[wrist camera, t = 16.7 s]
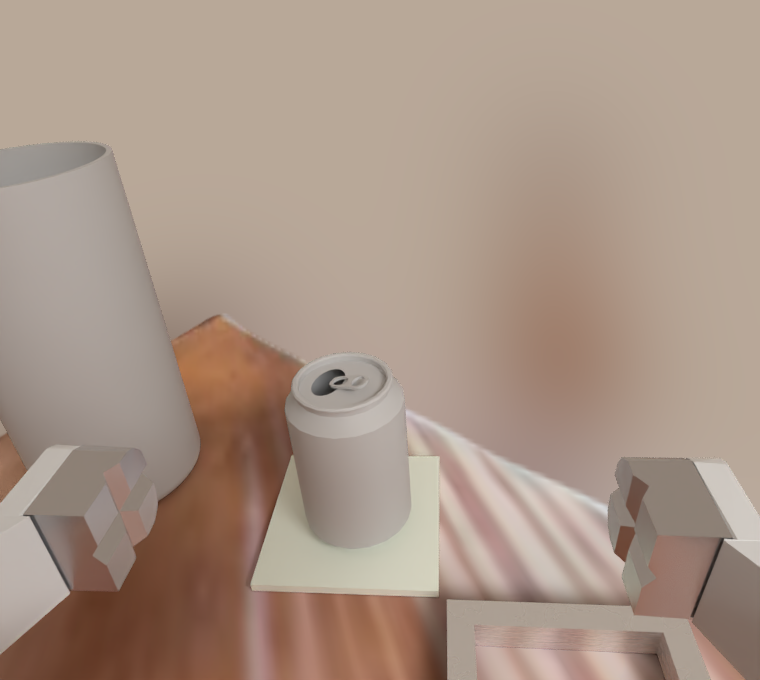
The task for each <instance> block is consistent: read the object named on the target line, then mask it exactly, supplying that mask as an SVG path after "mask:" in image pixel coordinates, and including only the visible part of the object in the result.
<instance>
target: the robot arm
mask: <svg viewBox="0 0 760 680" xmlns="http://www.w3.org/2000/svg"><path fill="white" fill-rule="evenodd" d="M146 465H147V463H146V461H145V458H144V456H143V453H142V451H141V450H139V449H136V448H130V447H108V446H86V445H82V446H71V445H54V446H52V447H49V448H47V449H46V450H45V451H44V452H43V453H42V455H41V456H40V457H39V458H38V459H37V460H36V462H35V463H34V464H33V465H32V466H31V468H30V469H29V470H28V471H27V472H26V474H25V475H24V476H23V477H22V478H21V479H20V481H19V482H18V483H17V484H16V485H15V487H14V488H13V489H12V490H11V491H10V492H9V494H8V495H7V496H6V497H5V498H4V500H3V501H2V502H1V503H0V654H1V653H3V652H4V651H5V650H6V649H7V648H8V647H9V646H11V645H12V644H13V643H14V642H15V641H16V640H17V639H19V638H20V637H21V636H22V635H23V634H24V633H26V632H27V631H28V630H29V629H30V628H31V627H32V626H34V625H35V624H36V623H37V622H38V621H39V620H40V619H42V618H43V617H44V616H45V615H46V614H47V613H48V612H50V611H51V610H52V609H53V608H54V607H55V606H56V605H58V604H59V603H60V602H61V601H62V600H63V599H65V598H66V597H67V596H68V595H69V594H70V591H119V590H120V588H121V586H122V584H123V582H124V580H125V578H126V576H127V574H128V573H129V571H130V569H131V567H132V565H133V563H134V561H135V559H136V554H135V550H134V546H135V545H136V544H137V543H139V542H140V541H142V540H143V539H144V538H146V537H147V536H148V534H149V532H150V530H151V528H152V526H153V524H154V522H155V517H156V512H157V508H158V500H157V492H156V489H155V486H154V483H153V482H152V481H151V480H150V479H148V478H147V477H146V476H145V475H144V474H142V472H143V470H144V469H145V467H146ZM615 477H616V480H617V483H618V485H619V488H618V489H617V490H616V491H614V492H613V493H612V494H611V495H610V500H609V505H608V529H609V535H610V540H611V543H612V547H613V550H614V553H615V554H616V555H617V556H619V557H620V558H621V559H622V560H623V561H624V562H625V566H624V570H623V574H622V579H623V582H624V586H625V589H626V592H627V595H628V598H629V601H630V604H631V608H632V611H633V614H634V615H639V616H653V617H666V618H680V619H693V620H692V623H693V624H694V625H695V626H696V627H697V628H698V629H699V630H700V631H701V632H702V634H703V635H704V636H705V637H706V638H707V639H708V640H709V641H710V642H711V643H712V644H713V645H714V646H715V647H716V648H717V649H718V651H719V652H720V653H721V654H722V655H723V656H724V657H725V658H726V659H727V660H728V661H729V662H730V663H731V664H732V665H733V666H734V668H735V669H736V670H737V671H738V672H739V673H740V674H741V675H742V676H743V677H744V678H745V679H746V680H760V517H759V515H758V513H757V511H756V510H755V508H754V506H753V505H752V503H751V501H750V500H749V498H748V497H747V495H746V493H745V492H744V490H743V489H742V487H741V485H740V484H739V482H738V480H737V479H736V477H735V475H734V474H733V472H732V471H731V469H730V467H729V466H728V464H727V462H725V461H724V460H722V459H721V458H686V459H684V458H637V457H636V458H635V457H631V458H630V457H621V459H620V461H619V462H618V464H617V469H616V472H615Z"/></svg>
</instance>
